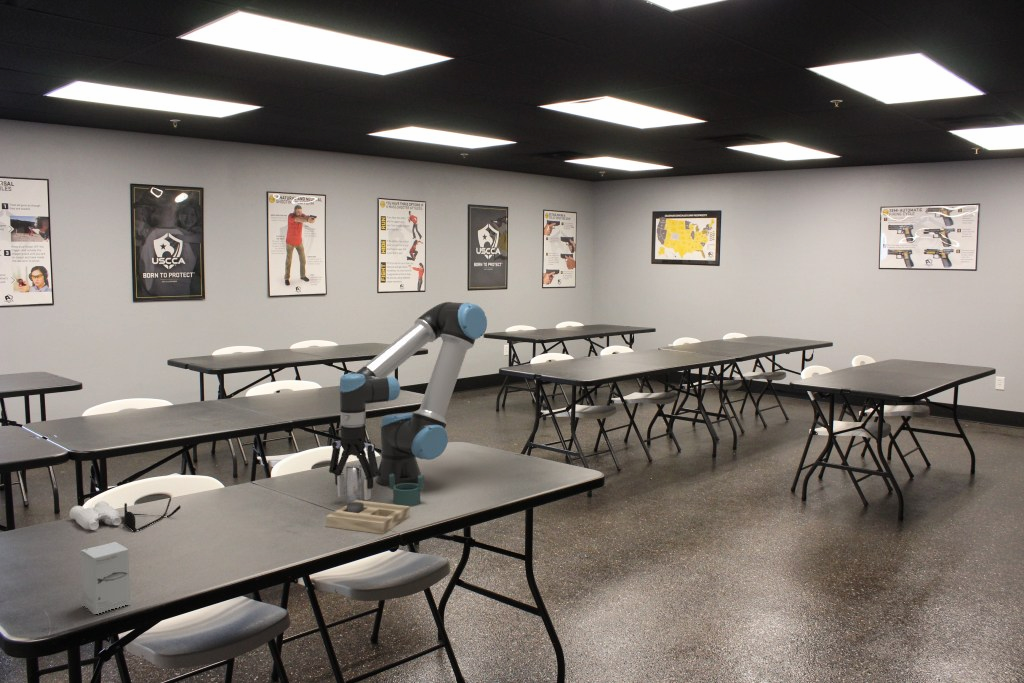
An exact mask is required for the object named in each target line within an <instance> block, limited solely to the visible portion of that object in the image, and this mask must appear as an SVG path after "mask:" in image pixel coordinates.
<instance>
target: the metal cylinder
mask: <svg viewBox="0 0 1024 683" xmlns="http://www.w3.org/2000/svg"><path fill="white" fill-rule="evenodd" d="M362 498H363V496H362V466H361V464H360V465H359V464H350V465H348V466H346V505H347V504H349V503H351V502H353V501H355V500H360V501H363V499H362Z"/></svg>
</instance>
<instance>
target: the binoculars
mask: <svg viewBox="0 0 1024 683" xmlns="http://www.w3.org/2000/svg"><path fill="white" fill-rule="evenodd" d="M69 517H70V518H71V519H72V518H73V519H72V520H74V521H75V522H76V523H77V524H79V526H81V527H82V528H83V529H84V530H88V531H89V530H90V531H91V530H92V531H96V530H97V529H98V528H99V526H100V524H99V523H100V520H101V521H102V522H103V523H104V524H105V525H109V526H119V525H120V524H122V518H121V515H120V512H119V511H118V510H117V509H116V508H114V507H113V506H112V505H110V504H109V503H108V502H107V501H104V500H101V501H98V502H97V503H96V504H95V505H94V507H87V508H84V507H83V506H81V505H75V506H73V507H71V509H70V510H69Z"/></svg>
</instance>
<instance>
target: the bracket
mask: <svg viewBox="0 0 1024 683" xmlns="http://www.w3.org/2000/svg"><path fill="white" fill-rule="evenodd" d="M424 480H425V475H422V474H421V475H418V483H415V484H414V483H402V484H397V485H395V474H390V475H389V486H388V487H389V488H390V489H391V490H393V491H392V494H393V495H392V496H393V497H392V498H393V500H392V502H393V503H392V504H394V505H402V506H410V508H411V507H414V506H415V507H416V506H418V505H419V504H420V503H421V491H422V490H424V488H425V482H424Z"/></svg>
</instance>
